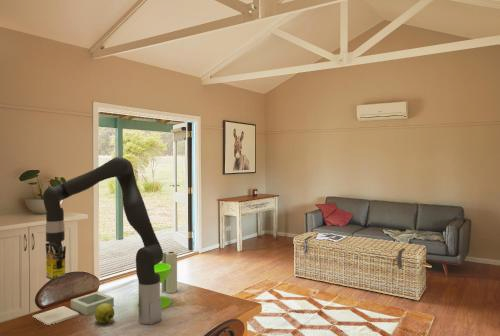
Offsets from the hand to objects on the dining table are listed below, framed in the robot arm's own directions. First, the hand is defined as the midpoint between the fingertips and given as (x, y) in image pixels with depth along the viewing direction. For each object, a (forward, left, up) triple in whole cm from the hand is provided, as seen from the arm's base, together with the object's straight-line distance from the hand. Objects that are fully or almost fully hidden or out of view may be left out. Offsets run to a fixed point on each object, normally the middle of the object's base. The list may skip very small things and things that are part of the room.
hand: (55, 267), depth 170 cm
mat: (0, 0, -23) cm, 23 cm away
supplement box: (0, 0, -5) cm, 5 cm away
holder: (-3, -16, -23) cm, 28 cm away
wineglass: (-23, -37, -23) cm, 49 cm away
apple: (-23, -10, -23) cm, 34 cm away
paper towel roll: (-17, -53, -23) cm, 60 cm away
